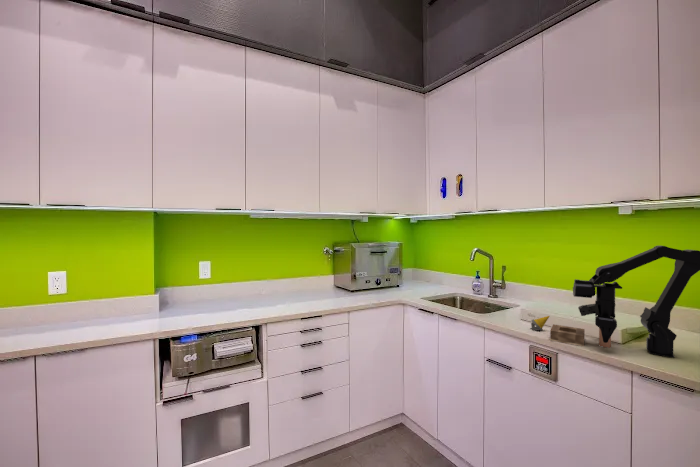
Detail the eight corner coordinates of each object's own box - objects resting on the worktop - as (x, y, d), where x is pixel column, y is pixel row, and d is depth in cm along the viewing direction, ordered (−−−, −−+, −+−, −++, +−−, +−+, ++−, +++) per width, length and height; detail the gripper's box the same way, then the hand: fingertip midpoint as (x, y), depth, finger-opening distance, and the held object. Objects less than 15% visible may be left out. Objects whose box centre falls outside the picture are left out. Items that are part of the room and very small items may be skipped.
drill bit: (531, 328, 150) (549, 314, 147) (537, 336, 145) (556, 323, 142) (524, 322, 149) (542, 308, 146) (530, 330, 144) (549, 316, 141)
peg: (610, 345, 126) (610, 322, 126) (611, 348, 123) (611, 324, 123) (598, 343, 128) (599, 320, 128) (599, 346, 125) (599, 323, 125)
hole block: (584, 338, 134) (584, 329, 134) (583, 346, 125) (583, 336, 125) (553, 333, 141) (553, 324, 141) (550, 340, 132) (550, 330, 132)
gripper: (580, 292, 138) (580, 329, 138) (579, 300, 123) (578, 341, 123) (614, 296, 131) (614, 334, 131) (617, 304, 116) (616, 348, 116)
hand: (605, 339), depth 126 cm, fingers open, 8 cm apart
